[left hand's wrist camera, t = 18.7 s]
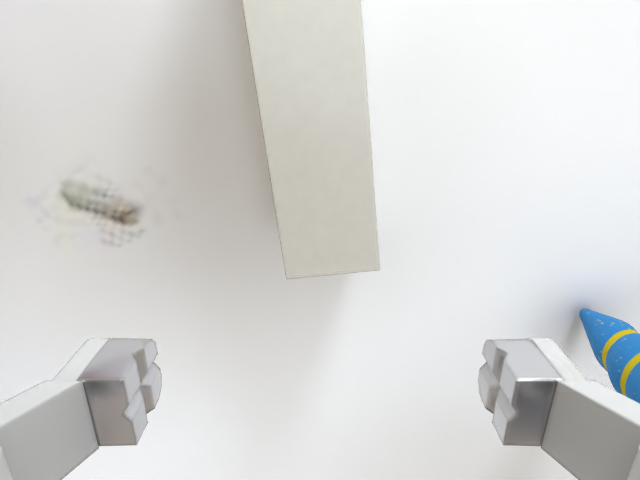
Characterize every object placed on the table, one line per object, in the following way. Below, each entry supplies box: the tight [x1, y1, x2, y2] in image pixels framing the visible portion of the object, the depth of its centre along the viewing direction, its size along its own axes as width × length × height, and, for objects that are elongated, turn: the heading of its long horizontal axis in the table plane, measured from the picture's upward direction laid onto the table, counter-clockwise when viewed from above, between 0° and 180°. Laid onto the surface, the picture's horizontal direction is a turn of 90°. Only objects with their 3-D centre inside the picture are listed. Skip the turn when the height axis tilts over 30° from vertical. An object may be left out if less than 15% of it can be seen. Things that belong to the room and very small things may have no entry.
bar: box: [242, 0, 380, 279], centre depth 25 cm, size 26×6×9 cm, turn 7°
